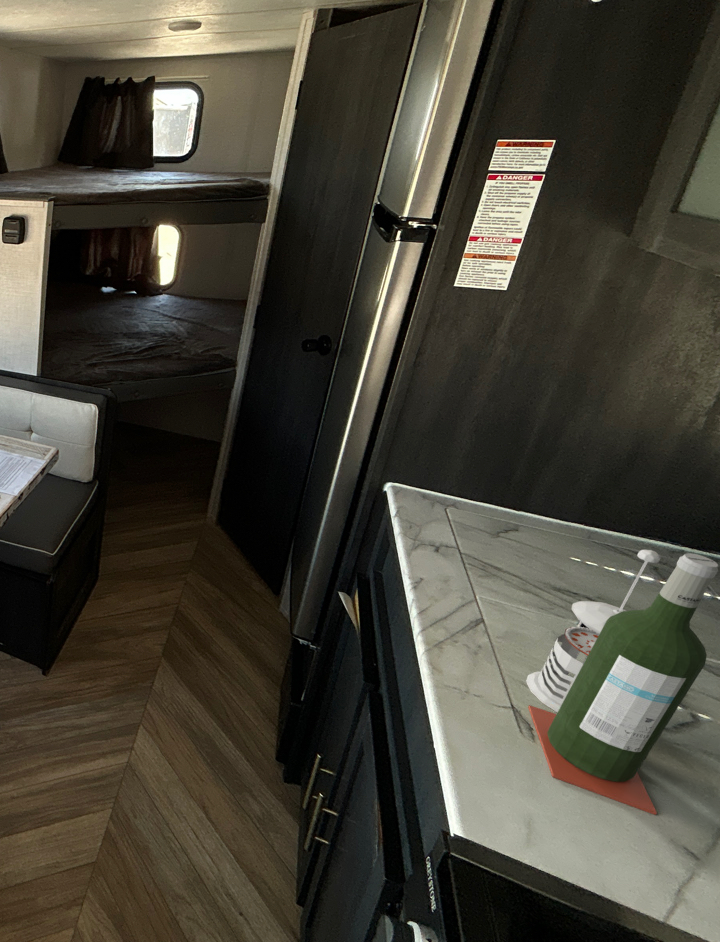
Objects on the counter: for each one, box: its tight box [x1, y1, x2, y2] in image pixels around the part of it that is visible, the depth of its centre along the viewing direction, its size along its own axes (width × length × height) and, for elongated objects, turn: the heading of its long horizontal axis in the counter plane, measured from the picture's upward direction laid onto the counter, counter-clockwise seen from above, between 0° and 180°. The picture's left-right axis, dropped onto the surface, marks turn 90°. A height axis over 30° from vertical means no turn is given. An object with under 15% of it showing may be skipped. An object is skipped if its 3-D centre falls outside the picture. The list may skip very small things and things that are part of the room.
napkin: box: [527, 705, 658, 816], centre depth 80 cm, size 9×12×1 cm
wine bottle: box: [547, 552, 719, 782], centre depth 74 cm, size 8×8×30 cm
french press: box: [525, 549, 662, 713], centre depth 84 cm, size 10×12×25 cm
